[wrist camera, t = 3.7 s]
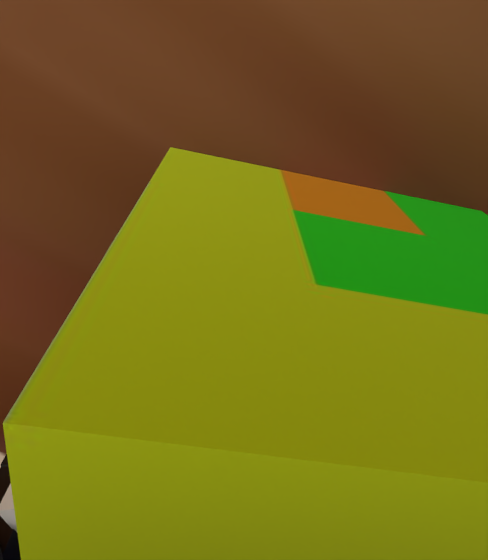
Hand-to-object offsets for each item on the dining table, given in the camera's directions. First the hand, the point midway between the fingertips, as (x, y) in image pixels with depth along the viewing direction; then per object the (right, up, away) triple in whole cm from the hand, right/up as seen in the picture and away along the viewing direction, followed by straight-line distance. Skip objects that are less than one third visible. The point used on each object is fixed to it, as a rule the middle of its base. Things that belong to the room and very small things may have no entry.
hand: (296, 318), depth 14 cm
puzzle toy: (0, 0, +1) cm, 1 cm away
